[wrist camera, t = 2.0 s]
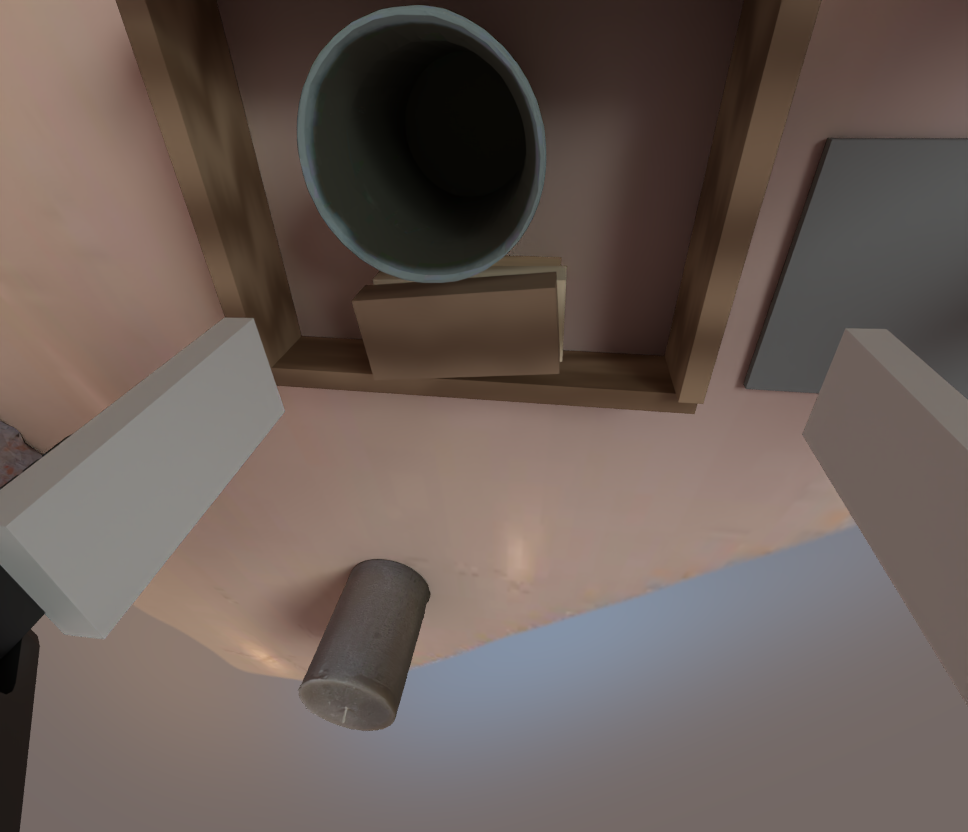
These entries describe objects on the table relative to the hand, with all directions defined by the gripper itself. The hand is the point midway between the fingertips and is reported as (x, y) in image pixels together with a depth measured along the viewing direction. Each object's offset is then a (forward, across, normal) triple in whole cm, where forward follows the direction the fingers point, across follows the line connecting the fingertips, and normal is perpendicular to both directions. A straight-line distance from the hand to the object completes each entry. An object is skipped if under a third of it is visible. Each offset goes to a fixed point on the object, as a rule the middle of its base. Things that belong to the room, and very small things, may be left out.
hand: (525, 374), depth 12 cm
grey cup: (+24, -5, +3) cm, 24 cm away
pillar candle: (+24, -18, -43) cm, 53 cm away
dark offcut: (+19, -5, -8) cm, 21 cm away
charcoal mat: (+23, +23, -7) cm, 33 cm away
